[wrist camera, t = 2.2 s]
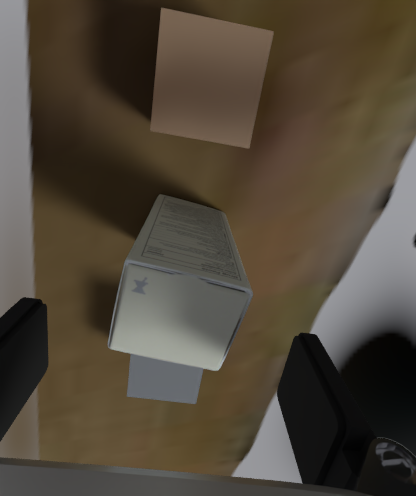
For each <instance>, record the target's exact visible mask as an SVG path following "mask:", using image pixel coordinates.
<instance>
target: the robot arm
mask: <svg viewBox="0 0 416 496" xmlns="http://www.w3.org/2000/svg"><path fill="white" fill-rule="evenodd" d="M47 367H48V331H47V306H46V304H43V303H42V300H40V299H34V298H26V297H24V298H22V299H20V300H19V301H18V302H17V303H16V304H15V305H14V306H13V307H11V308H10V309H9V310H8V311H7V312H6V313H5V314H4V315H3V316H2V317H1V318H0V441H1V440H2V438H3V437H4V435H5V434H6V432H7V431H8V429H9V428H10V426H11V425H12V423H13V422H14V420H15V418H16V417H17V415H18V414H19V412H20V411H21V409H22V408H23V406H24V404H25V403H26V402H27V400H28V398H29V397H30V395H31V394H32V392H33V391H34V389H35V388H36V386H37V385H38V383H39V382H40V380H41V379H42V377H43V376H44V374H45V372H46V370H47ZM277 397H278V401H279V404H280V408H281V411H282V415H283V418H284V421H285V425H286V428H287V432H288V435H289V438H290V442H291V445H292V449H293V452H294V455H295V459H296V462H297V466H298V469H299V473H300V476H301V479H302V483H303V484H301V483H292V482H283V481H273V480H262V479H252V478H241V477H230V476H220V475H209V474H198V473H186V472H175V471H163V470H152V469H140V468H128V467H117V466H105V465H92V464H80V463H67V462H55V461H42V460H30V459H16V458H0V496H416V457H415V456H414V455H413V454H412V453H411V452H410V451H409V450H408V449H406V448H405V447H404V446H402V445H401V444H399V443H397V442H395V441H393V440H390V439H387V438H377V437H376V436H375V434H374V432H373V431H372V429H371V427H370V425H369V424H368V422H367V420H366V419H365V417H364V415H363V413H362V412H361V410H360V408H359V407H358V405H357V403H356V401H355V400H354V398H353V396H352V395H351V393H350V391H349V389H348V388H347V386H346V384H345V383H344V381H343V379H342V377H341V376H340V374H339V373H338V371H337V369H336V367H335V366H334V364H333V362H332V360H331V359H330V357H329V355H328V354H327V352H326V350H325V348H324V347H323V345H322V343H321V342H320V340H319V338H318V337H317V335H315V334H309V333H300V334H299V336H295V337H294V339H293V342H292V345H291V348H290V352H289V355H288V358H287V361H286V364H285V367H284V370H283V373H282V377H281V380H280V383H279V386H278V390H277Z"/></svg>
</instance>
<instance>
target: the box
mask: <svg viewBox="0 0 416 496" xmlns="http://www.w3.org/2000/svg"><path fill="white" fill-rule="evenodd" d="M252 297H253V292H252V289H251V287H250V284H249V281H248V279H247V276H246V273H245V270H244V267H243V265H242V261H241V258H240V256H239V253H238V250H237V247H236V244H235V241H234V238H233V236H232V233H231V230H230V227H229V224H228V220H227V217H226V214H225V213H224V212H222V211H218V210H216V209H212V208H209V207H206V206H203V205H199V204H196V203H192V202H189V201H185V200H182V199H178V198H174V197H170V196H166V195H162V194H159V195H158V197H157V199H156V201H155V203H154V205H153V207H152V209H151V211H150V213H149V215H148V217H147V219H146V221H145V223H144V225H143V227H142V229H141V231H140V233H139V235H138V237H137V239H136V241H135V243H134V245H133V247H132V249H131V251H130V253H129V254H128V256H127V258H126V260H125V262H124V268H123V271H122V275H121V279H120V284H119V288H118V292H117V297H116V302H115V307H114V311H113V316H112V322H111V327H110V333H109V339H108V347H109V348H110V349H113V350H117V351H121V352H126V353H131V354H135V355H139V356H144V357H149V358H153V359H158V360H163V361H168V362H173V363H178V364H183V365H189V366H194V367H199V368H204V369H209V370H215V371H217V370H219V369H220V367H221V365H222V363H223V361H224V359H225V357H226V355H227V353H228V350H229V348H230V346H231V344H232V342H233V340H234V338H235V336H236V333H237V331H238V329H239V327H240V324H241V322H242V320H243V318H244V315H245V313H246V311H247V308H248V306H249V303H250V301H251V299H252Z"/></svg>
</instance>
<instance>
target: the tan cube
mask: <svg viewBox="0 0 416 496" xmlns="http://www.w3.org/2000/svg"><path fill="white" fill-rule="evenodd" d="M273 33H274V31H269V30H264V29H260V28H255V27H250V26H245V25H241V24H236V23H231V22H227V21H222V20H217V19H213V18H208V17H203V16H199V15H194V14H189V13H185V12H180V11H175V10H171V9H166V8H161V15H160V27H159V38H158V49H157V60H156V71H155V83H154V94H153V105H152V116H151V127H150V131H154V132H160V133H165V134H171V135H177V136H182V137H188V138H193V139H199V140H204V141H210V142H216V143H221V144H227V145H232V146H238V147H244V148H249V147H250V142H251V137H252V132H253V128H254V123H255V118H256V114H257V109H258V104H259V99H260V95H261V90H262V85H263V80H264V76H265V71H266V66H267V61H268V57H269V52H270V47H271V43H272V38H273Z"/></svg>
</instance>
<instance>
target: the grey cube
mask: <svg viewBox="0 0 416 496" xmlns="http://www.w3.org/2000/svg"><path fill="white" fill-rule="evenodd" d="M202 373H203V368H199V367H194V366H189V365H183V364H178V363H173V362H168V361H163V360H158V359H153V358H149V357H144V356H139V355H135V354H131V358H130V369H129V380H128V391H127V397H137V398H146V399H155V400H164V401H173V402H183V403H192V404H196V401H197V396H198V392H199V387H200V382H201V377H202Z"/></svg>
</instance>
